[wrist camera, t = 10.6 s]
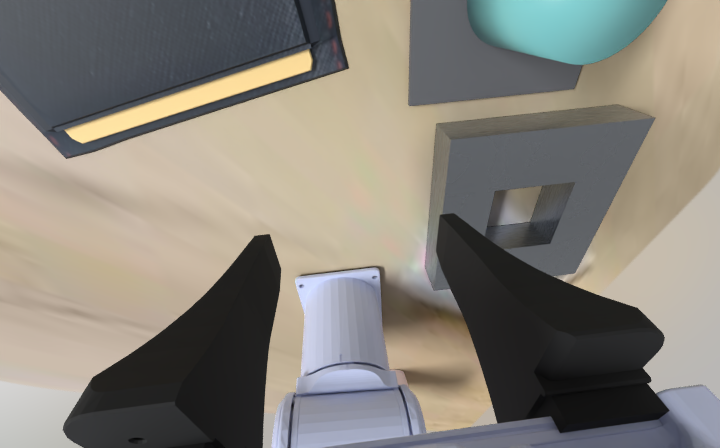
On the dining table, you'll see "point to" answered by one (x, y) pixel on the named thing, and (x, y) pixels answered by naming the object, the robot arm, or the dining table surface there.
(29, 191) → the dining table surface
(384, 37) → the dining table surface
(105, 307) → the dining table surface
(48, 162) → the dining table surface
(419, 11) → the mat
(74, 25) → the grey book
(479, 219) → the housing
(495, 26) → the end cap
